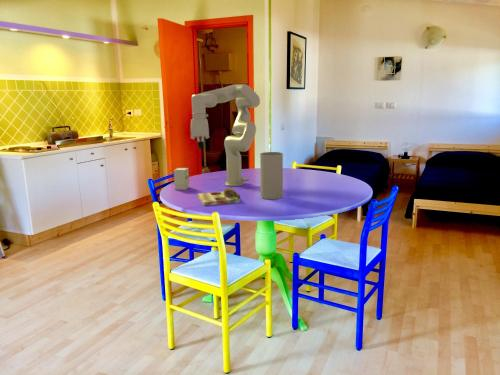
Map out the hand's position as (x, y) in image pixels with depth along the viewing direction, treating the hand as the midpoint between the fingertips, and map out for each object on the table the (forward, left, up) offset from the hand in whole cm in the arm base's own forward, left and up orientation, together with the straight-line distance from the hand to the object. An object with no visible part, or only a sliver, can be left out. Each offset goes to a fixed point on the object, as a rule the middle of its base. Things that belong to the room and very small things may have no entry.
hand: (200, 148), depth 240 cm
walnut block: (-12, +18, -25) cm, 33 cm away
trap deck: (-6, +17, -27) cm, 33 cm away
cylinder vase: (-36, +22, -27) cm, 50 cm away
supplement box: (+10, -18, -27) cm, 34 cm away
